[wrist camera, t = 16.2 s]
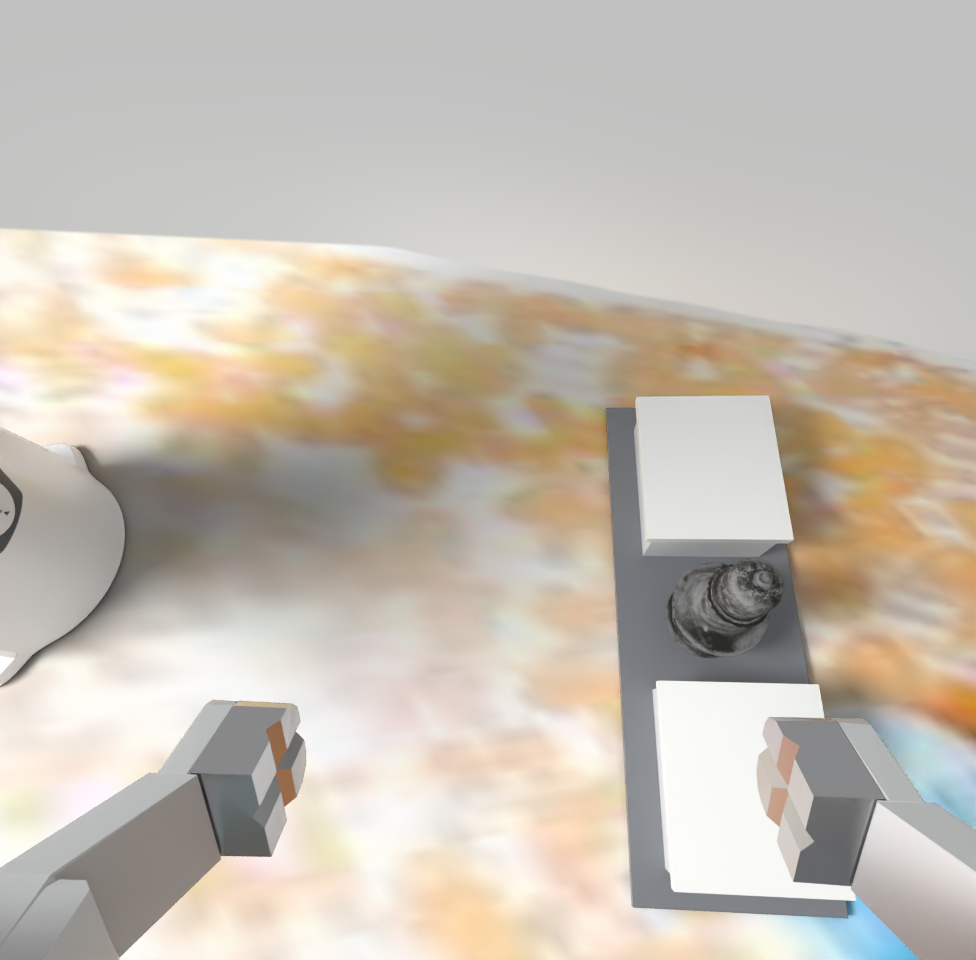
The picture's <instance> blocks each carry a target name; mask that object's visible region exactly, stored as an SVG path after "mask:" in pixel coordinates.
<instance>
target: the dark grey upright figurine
mask: <svg viewBox="0 0 976 960" xmlns="http://www.w3.org/2000/svg"><path fill="white" fill-rule="evenodd" d="M784 591H785V585H784V580H783V577H782V575H781V573H780V572H779V571H778V569H777V568H776V567H775V566H774V565H773V564H771V563H770V562H768V561H766V560H764V559H760V558H746V559H742V560H740V561H739V562H737V563H736V564H730V565H728V564H724V563H712V562H709V563H705V564H701V565H697V566H695V567H694V568H692V569H690V570H688V571H687V572H686V573H685V574H684V575H683V576H682V577H681V578H680V579H679V581H678V583H677V585H676V587H675V588H674V592H673V593H672V594H671V596H670V598H669V600H668V602H667V607H666V623H667V626H668V629H669V632H670V633H671V635H672V637H673V638H674V640H675V641H676V642H677V643H678V644H679V645H680V646H681V647H682V648H683V649H684V650H686V651H688V652H689V653H691V654H693V655H696V656H699V657H703V658H717V657H721V656H723V657H732V656H736V655H741V654H744V653H746V652H748V651H749V650H751V649H753V648H754V647H755V646H756V645H757V644H758V643H759V642H760V641H761V640H762V639H763V636H764V634H765V632H766V630H767V628H768V621H769V613H770V611H771V609H773V608H775V607H776V606H777V605H778V604H779V603H780V602H781V600H782V598H783V595H784Z"/></svg>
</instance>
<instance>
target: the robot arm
mask: <svg viewBox="0 0 976 960" xmlns="http://www.w3.org/2000/svg"><path fill="white" fill-rule="evenodd" d="M124 543H125V525H124V519H123V515H122V512H121V509H120V506H119V504H118V502H117V501H116V499H115V497H114V496H113V494H112V493H111V492H110V491H109V490H108V489H107V488H106V487H105V486H104V485H103V484H101V483H100V482H99V481H98V480H96V479H95V478H94V477H93V476H92V475H91V474H90V473H89V471H88V468H87V466H86V463H85V460H84V458H83V456H82V454H81V452H80V451H79V450H78V449H77V448H75V447H73V446H71V445H69V444H66V443H58V444H52V445H47V446H39V445H37V444H35V443H33V442H31V441H29V440H27V439H25V438H22V437H20V436H18V435H16V434H14V433H12V432H10V431H8V430H5V429H3V428H1V427H0V686H1V685H2V684H4V683H5V682H7V681H8V680H9V679H10V678H11V677H12V676H13V675H14V674H15V673H16V672H17V671H18V670H19V669H20V668H21V667H22V666H23V665H24V664H25V663H26V662H27V660H28V659H29V658H30V657H31V656H32V655H33V654H34V653H36V652H37V651H38V650H40V649H41V648H43V647H45V646H46V645H48V644H50V643H52V642H53V641H55V640H57V639H58V638H60V637H62V636H63V635H65V634H66V633H68V632H69V631H70V630H72V629H73V628H74V627H76V626H77V625H78V624H79V623H80V622H81V621H82V620H84V619H85V618H86V617H87V616H88V615H89V614H90V613H91V612H92V610H93V609H94V608H95V607H96V606H97V605H98V603H99V602H100V601H101V599H102V598H103V596H104V595H105V594H106V592H107V590H108V589H109V587H110V585H111V583H112V582H113V580H114V578H115V575H116V573H117V571H118V568H119V565H120V562H121V559H122V555H123V550H124ZM299 723H300V716H299V712H298V708H297V706H296V705H294V704H290V703H271V702H253V701H223V700H212V701H211V702H209V703H207V704H206V705H205V706H204V707H203V709H202V710H201V711H200V713H199V714H198V716H197V717H196V719H195V720H194V722H193V723H192V724H191V726H190V727H189V729H188V730H187V732H186V733H185V734H184V736H183V737H182V739H181V740H180V742H179V743H178V744H177V746H176V747H175V749H174V750H173V752H172V753H171V754H170V756H169V757H168V759H167V760H166V762H165V763H164V764H163V766H162V767H161V769H160V770H159V772H158V773H148V774H147V775H145V776H143V777H142V778H140V779H139V780H137V781H136V782H134V783H133V784H131V785H129V786H128V787H126V788H125V789H123V790H122V791H120V792H118V793H117V794H115V795H114V796H112V797H111V798H109V799H107V800H106V801H104V802H103V803H101V804H100V805H98V806H96V807H95V808H93V809H92V810H90V811H89V812H87V813H85V814H84V815H82V816H81V817H79V818H78V819H76V820H75V821H73V822H71V823H70V824H68V825H67V826H65V827H64V828H62V829H60V830H59V831H57V832H56V833H54V834H53V835H51V836H49V837H48V838H46V839H45V840H43V841H42V842H40V843H38V844H37V845H35V846H34V847H32V848H31V849H29V850H27V851H26V852H24V853H23V854H21V855H20V856H18V857H17V858H15V859H13V860H12V861H10V862H9V863H7V864H6V865H4V866H2V867H1V868H0V960H120V958H119V957H120V956H122V955H123V954H124V953H125V952H126V951H127V950H128V949H129V948H130V947H131V946H132V945H133V944H134V943H135V942H136V941H137V940H138V939H139V938H140V937H141V936H142V935H143V934H144V933H145V932H146V931H147V930H148V929H149V928H150V927H151V926H152V925H154V924H155V923H156V922H157V921H158V920H159V919H160V918H161V917H162V916H163V915H164V914H165V913H166V912H167V911H168V910H169V909H170V908H171V907H172V906H173V905H174V904H175V903H176V902H177V901H178V900H179V899H180V898H181V897H182V896H183V895H184V894H186V893H187V892H188V891H189V890H190V889H191V888H192V887H193V886H194V885H195V884H196V883H197V882H198V881H199V880H200V879H201V878H202V877H203V876H204V875H205V874H206V873H207V872H208V871H209V870H210V869H211V868H212V867H213V866H214V865H215V864H216V863H218V862H219V861H220V860H221V856H258V857H271V856H272V854H273V851H274V849H275V847H276V844H277V842H278V840H279V837H280V835H281V833H282V830H283V828H284V825H285V823H286V821H287V819H286V814H285V809H284V807H285V806H286V805H287V804H288V803H290V802H291V801H292V800H293V799H294V798H296V797H297V794H298V792H299V789H300V787H301V784H302V782H303V777H304V772H305V766H306V748H305V742H304V739H303V738H302V737H301V736H300V735H299V734H298V733H296V732H295V731H296V729H297V727H298V725H299ZM762 735H763V737H764V740H765V742H766V744H767V746H768V747H767V748H766V749H765V750H764V751H763V752H761V753H760V754H759V756H758V763H757V770H756V772H757V786H758V791H759V795H760V799H761V803H762V805H763V808H764V811H765V813H766V816H767V817H768V818H770V819H771V820H772V821H773V822H774V823H775V824H776V825H778V826H779V827H780V828H779V833H778V837H777V843H778V846H779V848H780V851H781V853H782V856H783V858H784V861H785V863H786V866H787V868H788V870H789V873H790V875H791V878H792V880H793V882H801V883H814V884H827V885H840V886H852V887H851V890H852V891H853V892H854V893H855V894H856V895H857V896H858V897H859V898H860V899H861V900H862V901H863V902H864V903H865V904H866V905H867V906H868V907H869V908H870V909H871V910H872V912H873V913H874V914H875V915H876V916H877V917H878V918H879V919H880V920H881V921H882V922H883V923H884V924H885V925H886V926H887V927H888V928H889V929H890V930H891V931H892V932H893V933H894V934H895V935H896V936H897V937H898V938H899V939H900V940H901V941H902V942H903V943H904V944H905V945H906V946H907V947H908V948H909V949H910V950H911V951H912V952H913V953H914V954H915V955H916V956H917V957H918V958H919V959H920V960H976V830H975V829H973V828H972V827H970V826H969V825H967V824H966V823H964V822H963V821H961V820H960V819H958V818H957V817H955V816H954V815H952V814H951V813H949V812H948V811H946V810H945V809H943V808H942V807H940V806H939V805H937V804H936V803H929V802H924V800H923V799H922V798H921V796H920V795H919V793H918V792H917V790H916V789H915V787H914V786H913V785H912V783H911V782H910V780H909V779H908V777H907V776H906V775H905V773H904V772H903V770H902V769H901V767H900V766H899V764H898V763H897V762H896V760H895V759H894V757H893V756H892V754H891V753H890V752H889V750H888V749H887V747H886V746H885V744H884V743H883V741H882V740H881V739H880V737H879V736H878V734H877V733H876V731H875V730H874V729H873V727H872V726H871V724H870V723H869V722H867V721H866V720H865V719H863V718H830V719H828V718H796V717H768V719H767V720H766V722H765V725H764V729H763V734H762Z"/></svg>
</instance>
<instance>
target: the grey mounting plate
mask: <svg viewBox="0 0 976 960" xmlns="http://www.w3.org/2000/svg"><path fill="white" fill-rule="evenodd" d="M635 407H636V408H606V425H607V444H608V463H609V482H610V501H611V520H612V539H613V558H614V577H615V596H616V615H617V634H618V653H619V673H620V692H621V711H622V730H623V749H624V768H625V787H626V806H627V825H628V844H629V863H630V882H631V901H632V906H633V907H636V908H655V909H675V910H694V911H714V912H733V913H753V914H772V915H792V916H811V917H831V918H848V913H847V907H846V901H845V900H848V901H856V898H855V893H854V892H853V891H852V890H851V887H852V886H840V885H827V884H814V883H801V882H793V880H792V878H791V875H790V873H789V870H788V868H787V866H786V863H785V861H784V858H783V856H782V853H781V851H780V848H779V846H778V843H777V837H778V833H779V828H780V827H779V826H778V825H776V824H775V823H774V822H773V821H772V820H771V819H770V818H768V817H767V816H766V813H765V811H764V808H763V805H762V803H761V799H760V795H759V791H758V786H757V772H756V770H757V763H758V756H759V754H760V753H761V752H763V751H764V750H765V749H766V748H767V747H768V746H767V744H766V742H765V740H764V737H763V735H762V734H763V729H764V725H765V722H766V720H767V719H768V717H796V718H824V712H823V706H822V700H821V694H820V689H819V684H809V679H808V673H807V667H806V661H805V655H804V649H803V643H802V637H801V631H800V625H799V619H798V613H797V607H796V601H795V595H794V589H793V583H792V577H791V571H790V565H789V559H788V553H787V547H786V543H790V542H792V541H793V540H794V538H793V532H792V526H791V520H790V514H789V509H788V503H787V497H786V491H785V485H784V480H783V474H782V468H781V462H780V456H779V451H778V445H777V439H776V433H775V427H774V422H773V416H772V410H771V404H770V398H769V395H758V396H654V397H637V398H636V401H635ZM746 558H760V559H764V560H766V561H768V562H770V563H771V564H773V565H774V566H775V567H776V568H777V569H778V571H779V572H780V573H781V575H782V577H783V580H784V585H785V591H784V595H783V598H782V600H781V602H780V603H779V604H778V605H777V606H776V607H775V608H773V609H771V611H770V613H769V621H768V628H767V630H766V632H765V634H764V636H763V639H762V640H761V641H760V642H759V643H758V644H757V645H756V646H755V647H754V648H753V649H751V650H749V651H748V652H746V653H744V654H741V655H736V656H732V657H723V656H721V657H717V658H703V657H699V656H696V655H693V654H691V653H689V652H688V651H686V650H684V649H683V648H682V647H681V646H680V645H679V644H678V643H677V642H676V641H675V640H674V638H673V637H672V635H671V633H670V632H669V629H668V626H667V623H666V607H667V602H668V600H669V598H670V596H671V594H672V593H673V592H674V588H675V587H676V585H677V583H678V581H679V579H680V578H681V577H682V576H683V575H684V574H685V573H686V572H687V571H688V570H690V569H692V568H694V567H695V566H697V565H701V564H705V563H709V562H712V563H724V564H728V565H730V564H736V563H737V562H739V561H740V560H742V559H746Z"/></svg>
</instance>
